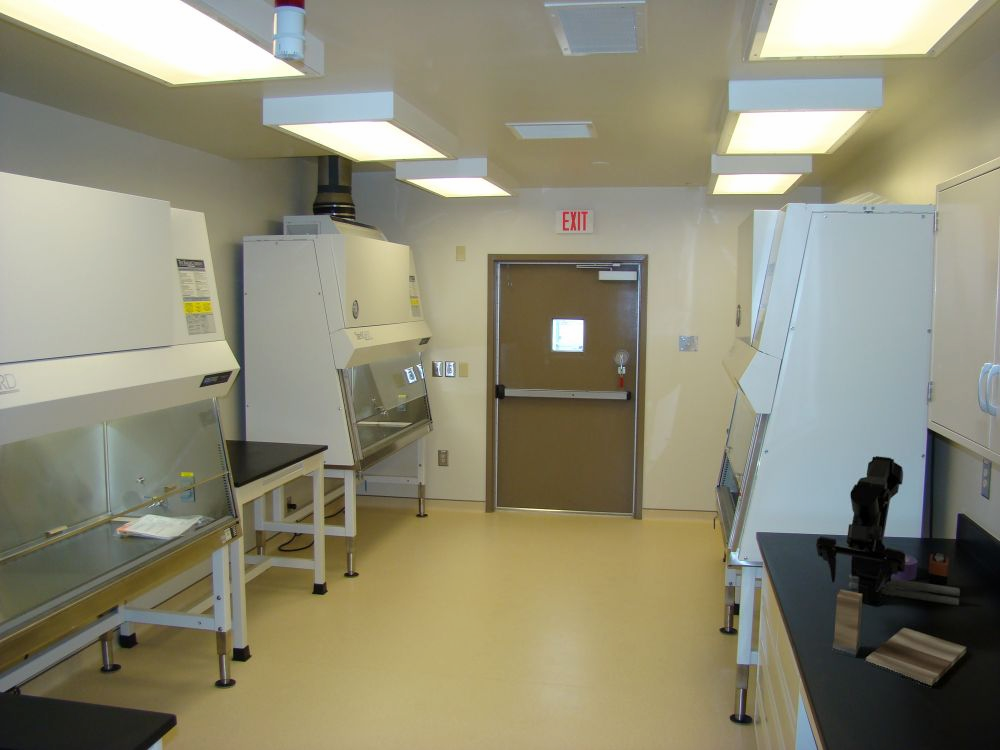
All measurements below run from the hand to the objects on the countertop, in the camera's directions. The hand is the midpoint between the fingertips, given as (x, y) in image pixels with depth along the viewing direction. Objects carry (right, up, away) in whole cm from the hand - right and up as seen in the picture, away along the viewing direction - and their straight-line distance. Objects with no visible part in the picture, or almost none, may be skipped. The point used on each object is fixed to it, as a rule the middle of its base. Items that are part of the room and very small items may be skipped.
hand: (854, 586), depth 173 cm
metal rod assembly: (+25, -11, +26) cm, 38 cm away
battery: (+36, -10, +30) cm, 48 cm away
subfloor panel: (+10, -14, -7) cm, 19 cm away
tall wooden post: (-4, -13, -4) cm, 14 cm away
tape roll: (+31, -9, +43) cm, 54 cm away
